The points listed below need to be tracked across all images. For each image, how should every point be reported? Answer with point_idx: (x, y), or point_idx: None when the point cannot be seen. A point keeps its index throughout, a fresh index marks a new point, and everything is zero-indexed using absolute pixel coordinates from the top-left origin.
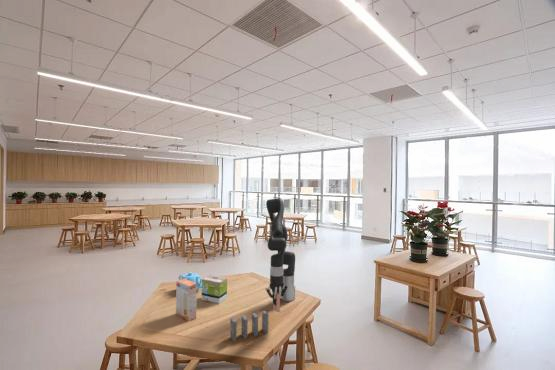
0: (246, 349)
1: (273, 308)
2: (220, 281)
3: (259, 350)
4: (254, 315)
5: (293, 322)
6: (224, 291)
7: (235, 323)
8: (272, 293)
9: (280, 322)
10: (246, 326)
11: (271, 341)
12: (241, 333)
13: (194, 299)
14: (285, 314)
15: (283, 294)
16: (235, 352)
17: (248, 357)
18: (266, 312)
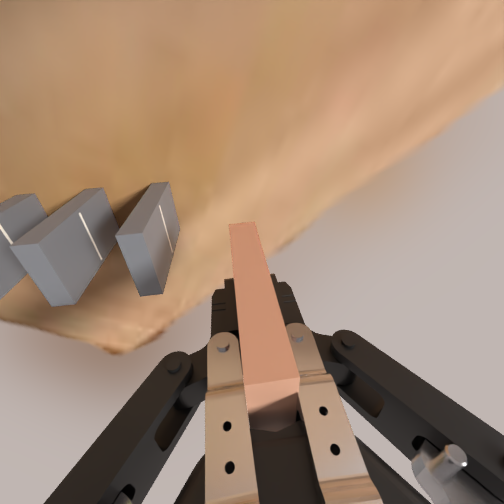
0: (65, 306)
1: (229, 229)
2: None
3: (121, 319)
4: (40, 281)
5: (350, 175)
6: None
7: None
8: (207, 392)
9: (284, 147)
10: (13, 280)
11: (179, 287)
12: (13, 197)
13: None
14: (377, 37)
15: (353, 384)
16: (16, 311)
17: (77, 339)
18: (152, 264)
